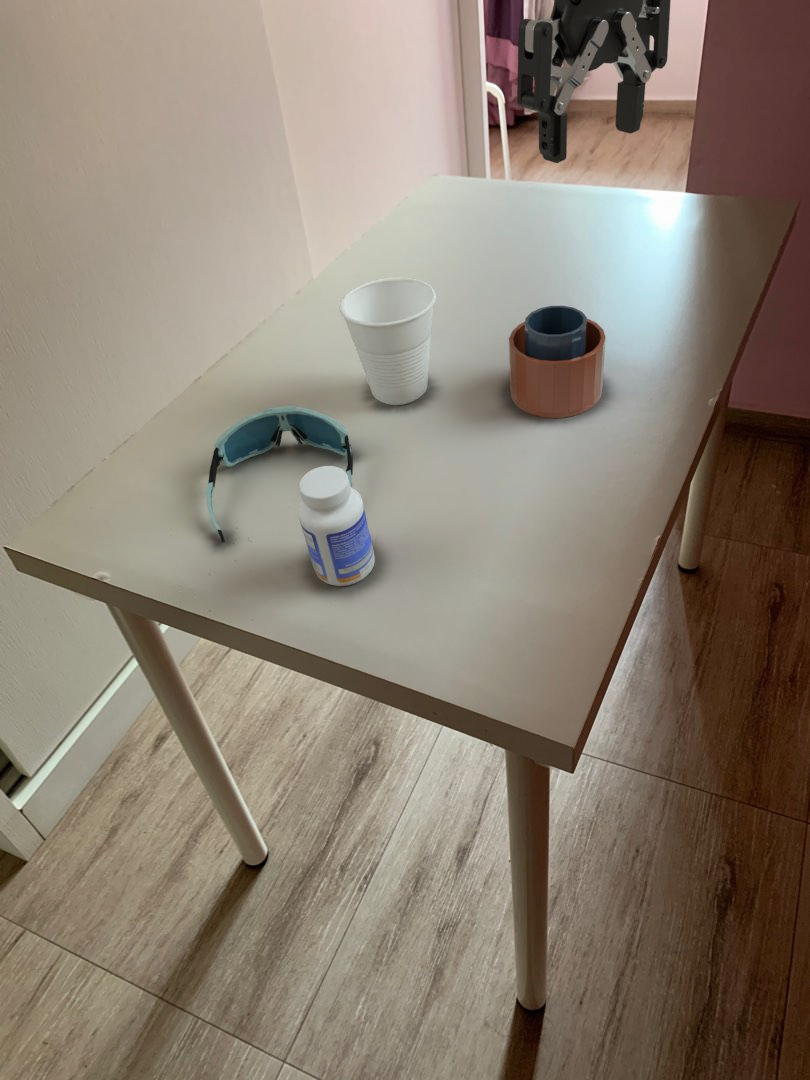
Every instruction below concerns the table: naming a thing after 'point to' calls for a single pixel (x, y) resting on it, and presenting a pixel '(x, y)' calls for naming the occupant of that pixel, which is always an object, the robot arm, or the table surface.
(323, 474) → the pill bottle
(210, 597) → the table surface
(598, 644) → the table surface
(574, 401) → the terracotta cup
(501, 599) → the table surface
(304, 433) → the sunglasses
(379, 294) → the cup
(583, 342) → the slate cup
